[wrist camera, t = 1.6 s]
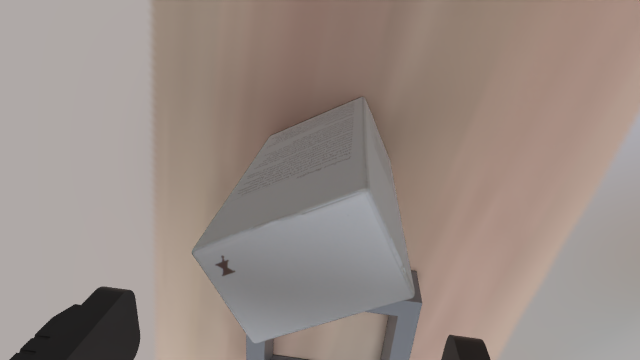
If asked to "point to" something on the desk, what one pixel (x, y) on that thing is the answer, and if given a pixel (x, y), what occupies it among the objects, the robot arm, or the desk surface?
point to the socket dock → (396, 336)
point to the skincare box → (310, 229)
